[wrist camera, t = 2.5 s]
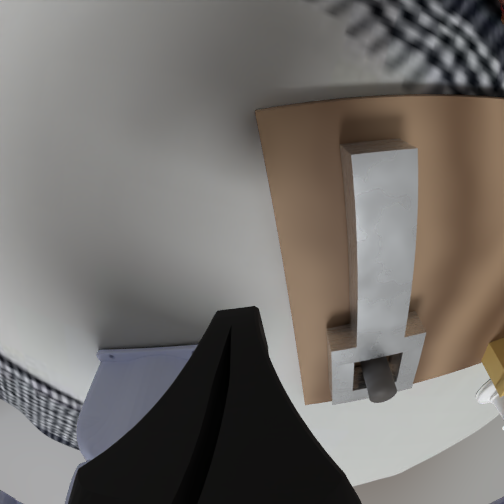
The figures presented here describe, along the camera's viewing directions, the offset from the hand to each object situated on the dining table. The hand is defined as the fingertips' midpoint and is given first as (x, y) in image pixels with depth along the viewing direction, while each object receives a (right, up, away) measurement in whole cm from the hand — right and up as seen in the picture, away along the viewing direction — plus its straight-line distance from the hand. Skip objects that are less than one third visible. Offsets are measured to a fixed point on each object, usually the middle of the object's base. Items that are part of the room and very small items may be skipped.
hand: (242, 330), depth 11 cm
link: (+7, +1, +7) cm, 10 cm away
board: (+12, +1, +8) cm, 15 cm away
